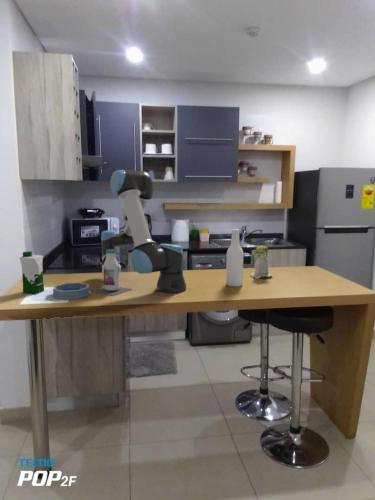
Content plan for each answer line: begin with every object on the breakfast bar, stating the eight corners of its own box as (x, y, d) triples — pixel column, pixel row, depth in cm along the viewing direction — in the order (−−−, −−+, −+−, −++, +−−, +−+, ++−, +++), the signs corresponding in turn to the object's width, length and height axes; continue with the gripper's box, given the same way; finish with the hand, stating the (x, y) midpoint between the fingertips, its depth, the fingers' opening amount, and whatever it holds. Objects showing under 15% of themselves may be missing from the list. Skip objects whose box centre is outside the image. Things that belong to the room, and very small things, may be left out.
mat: (131, 289, 183) (131, 289, 183) (112, 296, 171) (112, 295, 171) (111, 285, 190) (110, 285, 190) (91, 291, 178) (91, 291, 178)
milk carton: (31, 289, 183) (28, 250, 179) (47, 290, 181) (44, 251, 178) (19, 294, 174) (17, 253, 171) (36, 295, 172) (34, 254, 169)
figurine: (276, 278, 208) (277, 246, 206) (256, 279, 204) (257, 247, 201) (265, 273, 220) (266, 244, 217) (246, 275, 216) (247, 244, 213)
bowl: (98, 292, 177) (98, 285, 176) (70, 301, 162) (69, 293, 161) (73, 287, 186) (72, 280, 185) (44, 296, 171) (44, 288, 170)
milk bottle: (113, 286, 186) (111, 248, 183) (122, 288, 181) (121, 249, 178) (100, 289, 180) (99, 249, 177) (110, 291, 175) (109, 251, 172)
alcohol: (245, 285, 192) (247, 229, 187) (233, 287, 187) (234, 230, 182) (235, 281, 199) (236, 228, 194) (222, 284, 195) (223, 228, 190)
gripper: (128, 267, 199) (132, 276, 177) (90, 269, 194) (90, 278, 172) (128, 253, 198) (132, 261, 176) (90, 255, 193) (89, 263, 171)
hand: (111, 269), depth 174 cm, fingers closed on milk bottle, 7 cm apart
